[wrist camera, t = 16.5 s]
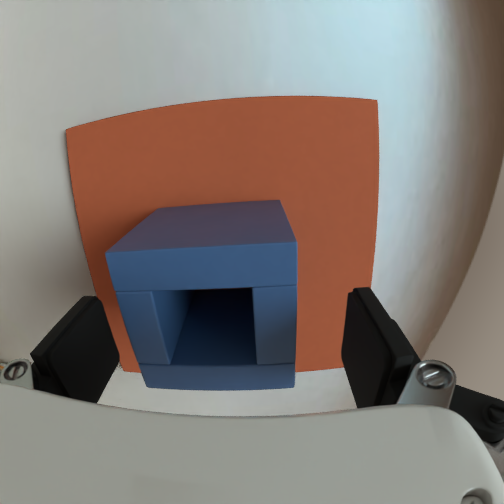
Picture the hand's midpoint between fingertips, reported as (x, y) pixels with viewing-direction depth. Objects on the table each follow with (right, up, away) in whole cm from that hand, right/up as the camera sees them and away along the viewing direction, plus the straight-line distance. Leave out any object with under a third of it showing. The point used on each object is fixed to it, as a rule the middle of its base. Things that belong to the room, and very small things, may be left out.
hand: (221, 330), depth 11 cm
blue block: (0, +2, +5) cm, 5 cm away
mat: (0, +2, +5) cm, 6 cm away
